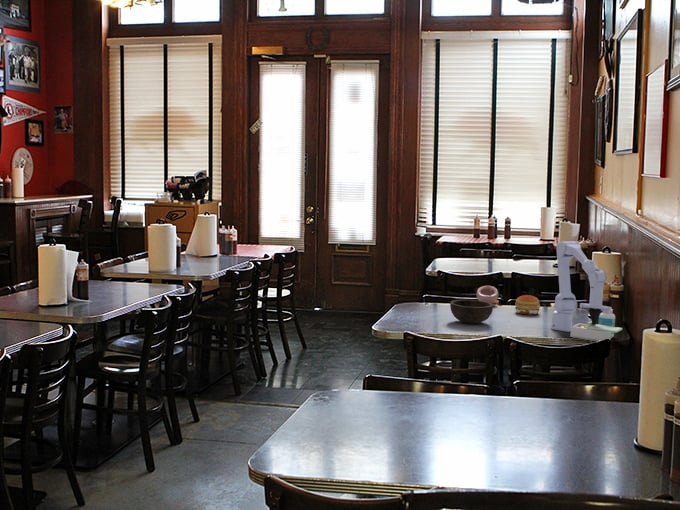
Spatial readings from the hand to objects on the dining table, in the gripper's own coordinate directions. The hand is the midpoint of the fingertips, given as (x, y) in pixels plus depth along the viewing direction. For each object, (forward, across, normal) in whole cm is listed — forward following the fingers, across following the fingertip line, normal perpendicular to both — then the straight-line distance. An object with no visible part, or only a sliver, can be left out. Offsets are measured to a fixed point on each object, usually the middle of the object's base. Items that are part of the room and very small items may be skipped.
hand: (594, 324), depth 398 cm
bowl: (+8, -61, -8) cm, 62 cm away
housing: (+7, -1, 0) cm, 7 cm away
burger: (+8, -51, +38) cm, 64 cm away
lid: (+1, +5, 0) cm, 5 cm away
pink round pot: (+8, -79, +45) cm, 91 cm away
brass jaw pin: (+7, -5, 0) cm, 9 cm away
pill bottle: (+7, +2, +11) cm, 13 cm away
